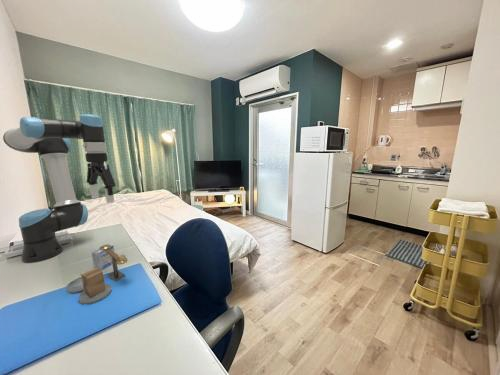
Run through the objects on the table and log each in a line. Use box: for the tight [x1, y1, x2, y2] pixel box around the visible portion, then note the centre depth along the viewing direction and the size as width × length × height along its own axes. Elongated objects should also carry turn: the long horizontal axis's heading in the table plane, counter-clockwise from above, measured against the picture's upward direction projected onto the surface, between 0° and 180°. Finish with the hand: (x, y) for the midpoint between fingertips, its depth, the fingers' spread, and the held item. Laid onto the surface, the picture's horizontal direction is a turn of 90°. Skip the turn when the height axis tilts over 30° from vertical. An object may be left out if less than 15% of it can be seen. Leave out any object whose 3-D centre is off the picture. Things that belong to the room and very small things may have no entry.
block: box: [80, 267, 106, 298], centre depth 78 cm, size 5×5×8 cm
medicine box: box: [91, 244, 115, 271], centre depth 98 cm, size 8×4×9 cm, turn 168°
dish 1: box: [65, 276, 84, 294], centre depth 85 cm, size 10×10×1 cm
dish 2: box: [78, 283, 112, 305], centre depth 79 cm, size 10×10×1 cm
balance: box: [99, 244, 128, 282], centre depth 89 cm, size 17×4×12 cm, turn 59°
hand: (102, 200), depth 93 cm, fingers open, 13 cm apart
